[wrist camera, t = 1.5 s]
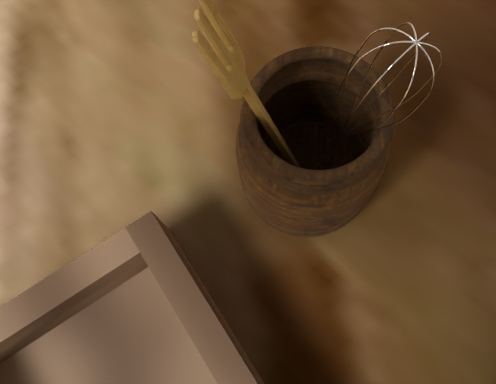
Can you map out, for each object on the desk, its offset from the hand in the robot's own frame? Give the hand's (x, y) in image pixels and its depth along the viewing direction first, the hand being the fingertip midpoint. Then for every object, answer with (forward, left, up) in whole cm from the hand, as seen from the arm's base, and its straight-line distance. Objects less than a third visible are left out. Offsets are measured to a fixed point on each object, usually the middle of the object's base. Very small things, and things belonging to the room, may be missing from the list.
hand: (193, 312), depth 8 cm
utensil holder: (+6, +4, -13) cm, 15 cm away
